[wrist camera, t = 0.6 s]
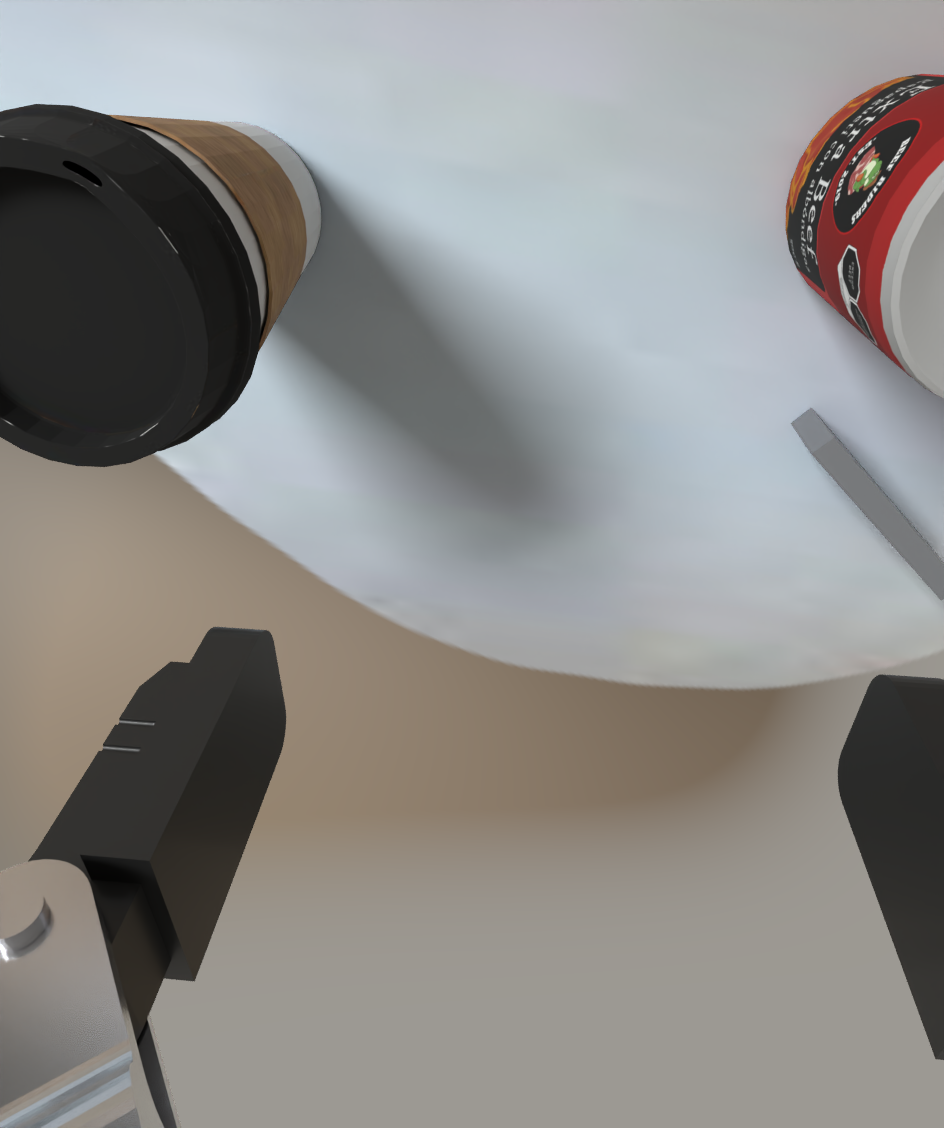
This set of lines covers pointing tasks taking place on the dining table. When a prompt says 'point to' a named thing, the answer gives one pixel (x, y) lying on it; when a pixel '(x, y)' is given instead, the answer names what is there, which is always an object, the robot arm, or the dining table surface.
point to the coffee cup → (139, 274)
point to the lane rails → (870, 499)
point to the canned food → (879, 220)
